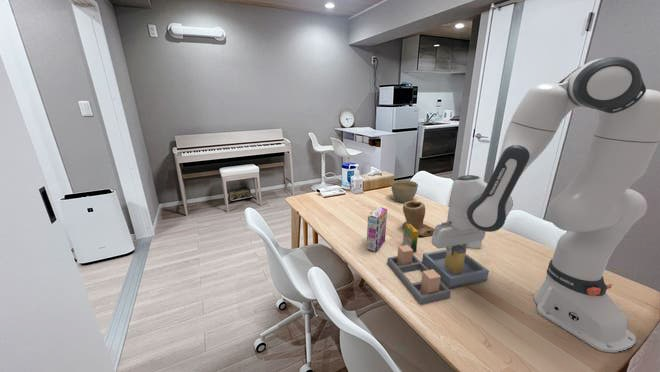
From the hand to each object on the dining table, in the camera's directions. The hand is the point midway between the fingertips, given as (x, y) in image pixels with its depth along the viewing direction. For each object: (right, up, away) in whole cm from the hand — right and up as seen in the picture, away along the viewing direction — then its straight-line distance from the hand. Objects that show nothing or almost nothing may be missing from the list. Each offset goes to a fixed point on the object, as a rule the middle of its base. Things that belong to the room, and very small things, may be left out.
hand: (455, 253), depth 98 cm
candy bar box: (-26, -2, +20) cm, 33 cm away
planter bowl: (0, +16, +70) cm, 72 cm away
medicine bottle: (+16, -1, +20) cm, 26 cm away
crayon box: (-12, -2, +18) cm, 22 cm away
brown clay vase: (-4, +3, +32) cm, 32 cm away
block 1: (-17, -6, +6) cm, 19 cm away
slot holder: (-15, -9, -1) cm, 18 cm away
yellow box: (0, -6, +2) cm, 7 cm away
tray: (0, -7, +3) cm, 8 cm away
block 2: (-13, -11, -9) cm, 19 cm away
